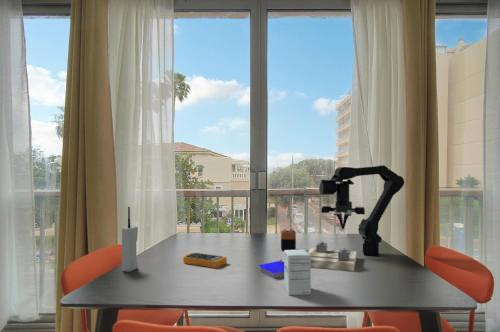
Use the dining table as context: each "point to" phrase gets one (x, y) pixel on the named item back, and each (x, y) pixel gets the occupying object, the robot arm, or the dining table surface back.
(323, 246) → the switch tab
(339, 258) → the switch tab
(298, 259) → the supplement box
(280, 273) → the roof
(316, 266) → the switch board
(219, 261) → the multimeter
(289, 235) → the battery
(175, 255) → the dining table surface
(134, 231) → the vintage mobile phone
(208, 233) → the dining table surface
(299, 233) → the dining table surface
